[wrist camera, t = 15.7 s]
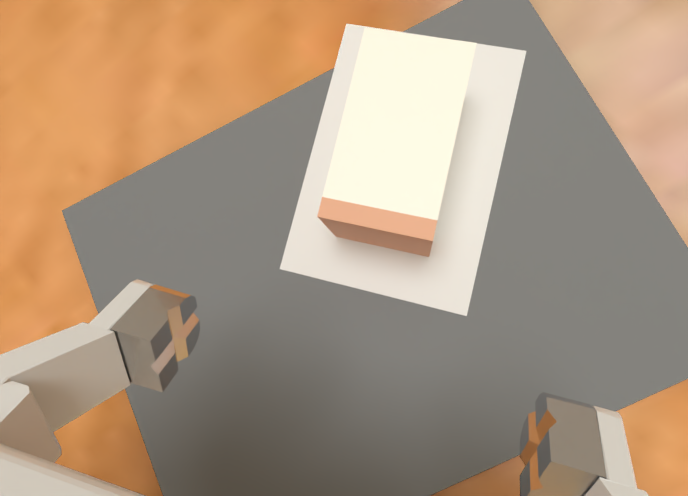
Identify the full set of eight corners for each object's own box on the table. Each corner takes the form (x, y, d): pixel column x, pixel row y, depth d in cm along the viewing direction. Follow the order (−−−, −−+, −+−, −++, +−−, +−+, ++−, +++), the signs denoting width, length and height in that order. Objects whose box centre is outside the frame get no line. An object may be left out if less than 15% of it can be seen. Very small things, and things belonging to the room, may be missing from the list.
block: (373, 81, 24) (335, 236, 23) (364, 27, 19) (317, 216, 18) (464, 96, 23) (429, 257, 22) (476, 43, 18) (432, 241, 18)
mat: (205, 592, 22) (199, 600, 21) (59, 183, 26) (50, 180, 25) (743, 348, 20) (752, 349, 20) (491, -46, 24) (493, -55, 24)
